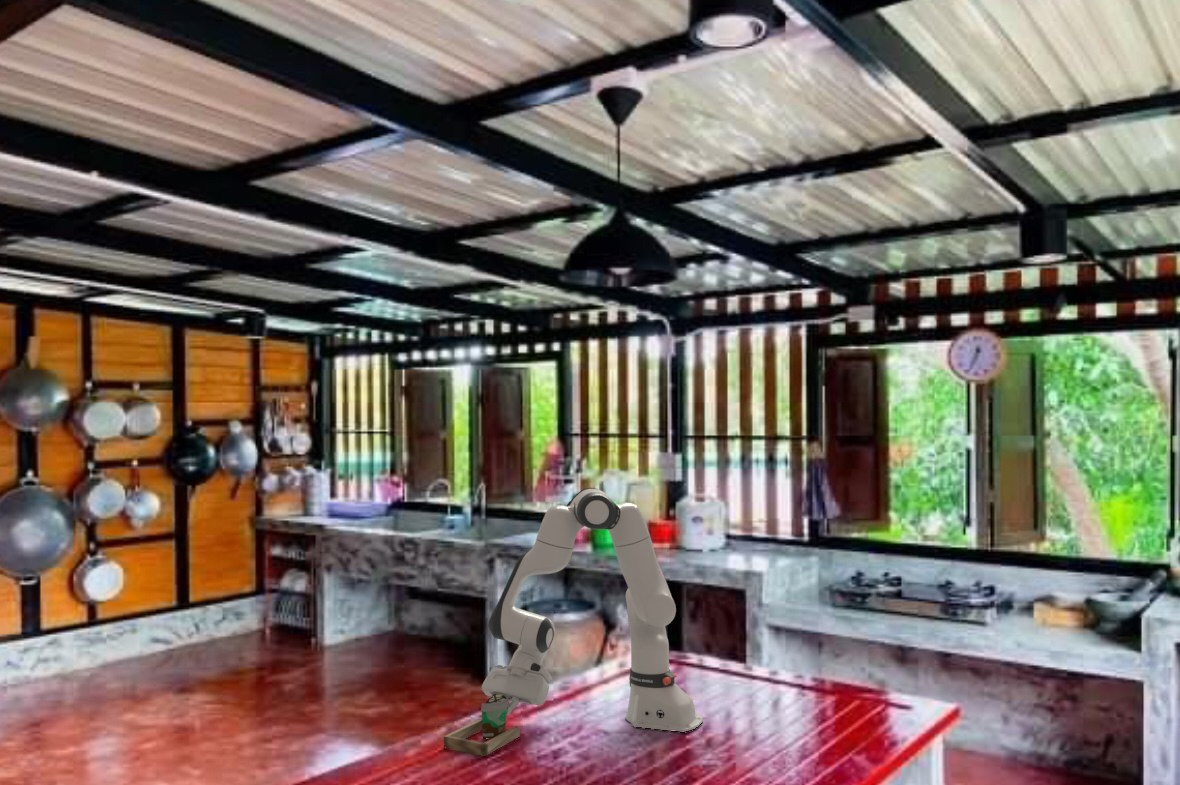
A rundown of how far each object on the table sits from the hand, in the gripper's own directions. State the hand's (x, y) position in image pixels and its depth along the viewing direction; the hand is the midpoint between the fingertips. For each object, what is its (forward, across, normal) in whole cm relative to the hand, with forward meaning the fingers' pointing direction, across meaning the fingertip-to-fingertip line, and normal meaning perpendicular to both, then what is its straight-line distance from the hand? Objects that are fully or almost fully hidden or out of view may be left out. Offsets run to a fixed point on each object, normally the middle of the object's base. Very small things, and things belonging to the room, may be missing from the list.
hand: (503, 712), depth 255 cm
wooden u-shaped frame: (+11, 0, -4) cm, 11 cm away
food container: (+6, 0, +1) cm, 6 cm away
